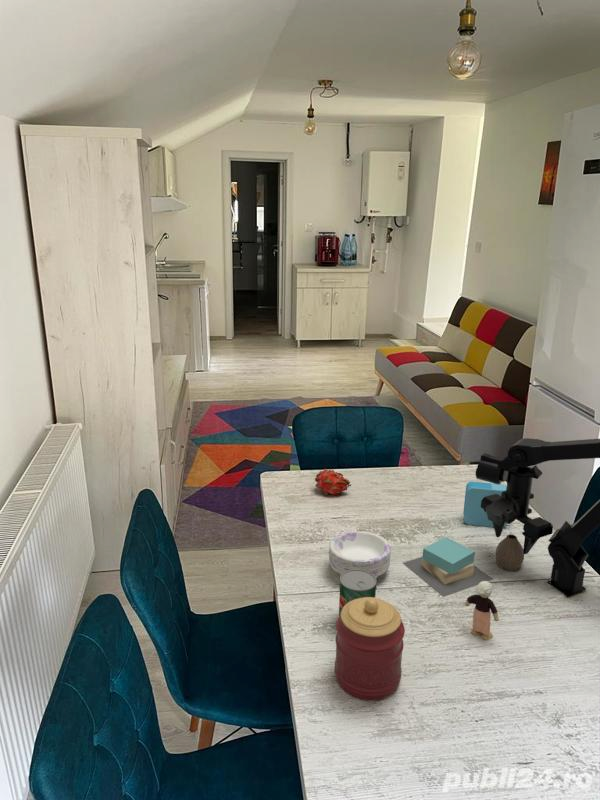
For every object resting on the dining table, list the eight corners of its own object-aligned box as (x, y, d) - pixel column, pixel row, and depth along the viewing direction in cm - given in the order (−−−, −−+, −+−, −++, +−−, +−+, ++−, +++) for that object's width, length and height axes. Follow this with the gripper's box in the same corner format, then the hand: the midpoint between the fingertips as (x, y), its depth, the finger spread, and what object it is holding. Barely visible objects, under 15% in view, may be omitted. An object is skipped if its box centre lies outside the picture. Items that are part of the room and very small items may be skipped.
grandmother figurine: (499, 633, 131) (505, 583, 127) (494, 644, 128) (501, 592, 124) (464, 621, 135) (469, 572, 131) (459, 631, 132) (464, 581, 128)
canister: (358, 645, 127) (362, 572, 122) (413, 674, 120) (419, 597, 114) (320, 680, 118) (323, 602, 112) (377, 714, 110) (382, 632, 105)
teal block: (473, 562, 152) (475, 551, 151) (451, 574, 146) (452, 564, 145) (444, 547, 158) (445, 536, 157) (422, 558, 153) (423, 548, 152)
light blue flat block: (504, 521, 179) (509, 484, 175) (506, 529, 175) (511, 491, 171) (462, 517, 181) (466, 480, 178) (463, 524, 177) (467, 487, 173)
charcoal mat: (493, 580, 150) (493, 579, 150) (443, 598, 143) (443, 596, 143) (450, 549, 164) (450, 548, 163) (402, 564, 156) (402, 562, 156)
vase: (494, 571, 154) (497, 541, 151) (494, 557, 160) (497, 527, 158) (522, 576, 152) (527, 545, 149) (521, 562, 158) (525, 532, 156)
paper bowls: (345, 550, 163) (346, 523, 160) (398, 567, 155) (400, 539, 153) (317, 578, 150) (318, 550, 148) (373, 598, 143) (375, 568, 140)
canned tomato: (332, 615, 137) (334, 572, 133) (364, 607, 139) (366, 566, 136) (347, 637, 130) (349, 593, 126) (380, 629, 132) (383, 585, 129)
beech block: (473, 575, 151) (474, 564, 150) (444, 584, 147) (446, 574, 146) (448, 557, 159) (449, 547, 158) (421, 566, 155) (422, 556, 154)
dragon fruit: (312, 493, 199) (347, 503, 196) (308, 488, 191) (345, 498, 188) (319, 468, 201) (354, 478, 198) (316, 462, 193) (352, 472, 190)
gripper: (467, 481, 154) (461, 535, 159) (524, 512, 138) (516, 571, 143) (499, 472, 159) (493, 526, 163) (558, 502, 143) (549, 560, 148)
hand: (511, 545), depth 154 cm, fingers open, 9 cm apart
